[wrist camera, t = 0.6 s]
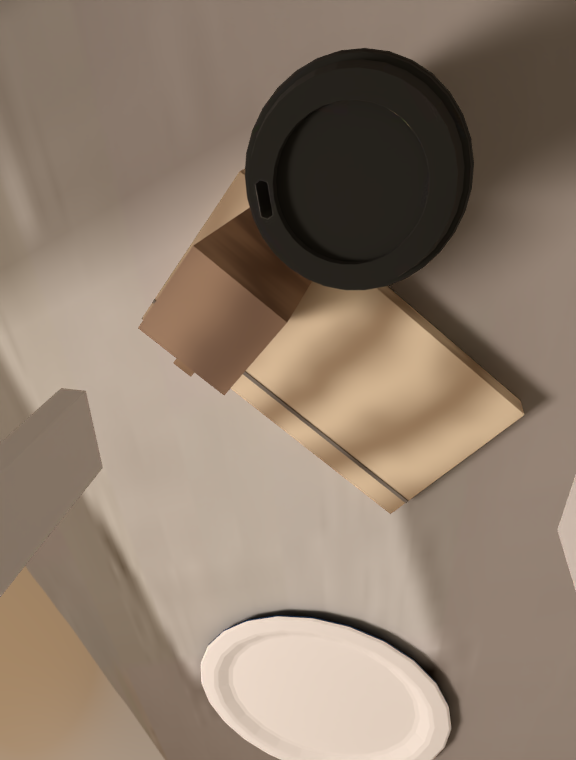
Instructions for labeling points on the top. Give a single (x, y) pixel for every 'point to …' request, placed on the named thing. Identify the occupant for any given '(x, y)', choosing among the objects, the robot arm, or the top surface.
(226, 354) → the brown box
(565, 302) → the top surface
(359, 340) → the board
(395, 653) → the plate
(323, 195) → the coffee cup
